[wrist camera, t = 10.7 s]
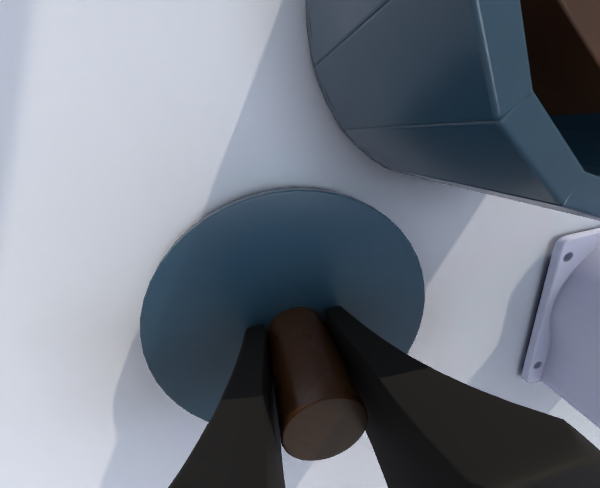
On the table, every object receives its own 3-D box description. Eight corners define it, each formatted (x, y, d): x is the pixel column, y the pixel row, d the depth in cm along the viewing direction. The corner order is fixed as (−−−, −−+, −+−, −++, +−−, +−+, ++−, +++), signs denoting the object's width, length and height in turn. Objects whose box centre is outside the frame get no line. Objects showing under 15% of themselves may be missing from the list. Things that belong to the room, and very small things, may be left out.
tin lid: (407, 375, 15) (484, 484, 10) (194, 436, 13) (171, 598, 9) (414, 162, 11) (553, 183, 6) (98, 215, 9) (-51, 302, 4)
